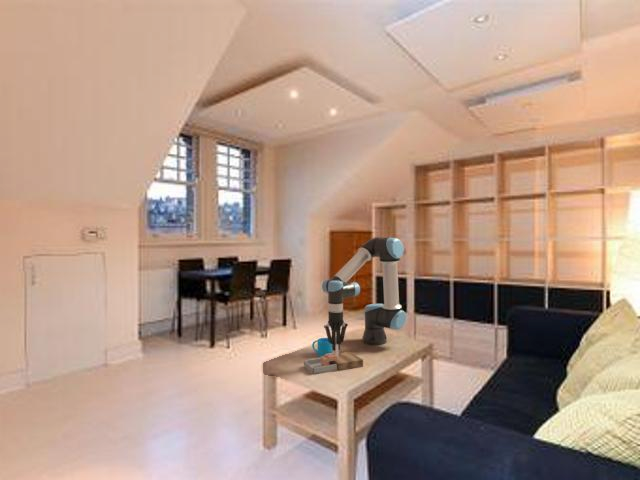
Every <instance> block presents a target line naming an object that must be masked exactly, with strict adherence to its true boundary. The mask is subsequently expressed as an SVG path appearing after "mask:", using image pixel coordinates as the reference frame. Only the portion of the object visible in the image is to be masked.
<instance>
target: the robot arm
mask: <svg viewBox="0 0 640 480" xmlns="http://www.w3.org/2000/svg"><path fill="white" fill-rule="evenodd" d="M404 250H405V249H404V245H403V242H402V241H401V240H400V239H399V238H396V237H373V238H371V239H369V240H367V241H366V242H364V243H363V244H362V245H361V246H359V248H358V249H357V252H356V253H355V254H354V255H353V256H352V257H351V258H350V260H349V261H347V263H345V264H344V265H343V266H342V267H341V268H340V269H339V270H338V271H337V272H336V274H334V276H333V277H331V278H330V279H326V280H324V281H323V282H322V283H321V289H322V291H323V292H324V293H326V294H327V295H328V296H327V297H328V303H327V304H328V308H327V309H328V321H327V323H326V324H324V325H323V328H324V330H325V333H326V338H328V342H329V343H330V344H332V352H333V353H334V354H335V355H337V357H339V354H338V353H339V351H340V350H341V345H342V343H344V339H345V336H346V335H345V334H346V332H347V331H346V330H347V327H348V325H349V324H348V323H347V322H345V321H344V299H347V298H352V297H356V296H358V295H360V293H361V286H360V285H359V283H358V282H356V281H351V282H348V281H350V280H351V278H352V277H353V276H354V275H355V274H356V273H357V272H358V271H359V270H360V269H361V268H362V267H363V266H364V265H365V264H366V263H367V262H369V261H371V260H372V259H373V258H377V257H378V258H379V262H380V263H381V264H382V265H381V266H382V281H383V282H382V285H383V303H371V304H367V305H366V306H365V308H364V331H363V334H362V337H361V340H362V343H364V344H367V345H374V346H378V345H379V346H380V345H385V344H387V342H388V338H387V334H386V331H385V328H386V329H390V330H394V331H399V330H401V329H403V328H404V326H405V324H406V322H407V318H408V317H407V313H406V312H405V311H404V310H403V307H402V304H400V296H399V295H400V293H399V292H400V291H399V274H398V273H399V272H398V264H399V262H400V261H401V260H400V259H401V258H402V257H403V254H404Z"/></svg>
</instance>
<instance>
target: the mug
mask: <svg viewBox="0 0 640 480" xmlns="http://www.w3.org/2000/svg"><path fill="white" fill-rule="evenodd" d="M316 343H317V349H316V347H315V344H316ZM311 346H312V347H311V348H312V349H313V351H314V352H316V353H317V356H319V357H322V356H325V354H329V353H333V350H332V344H330V343H329V342H328V338H327V337H321V338H318V339H317V340H315V341H313V342H312V344H311Z"/></svg>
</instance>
